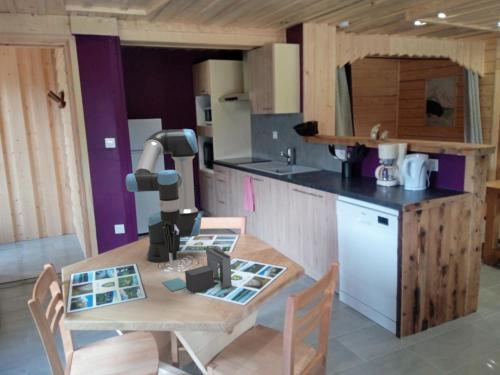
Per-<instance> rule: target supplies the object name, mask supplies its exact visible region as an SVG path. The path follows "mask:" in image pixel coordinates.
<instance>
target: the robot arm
mask: <svg viewBox="0 0 500 375" xmlns="http://www.w3.org/2000/svg"><path fill="white" fill-rule="evenodd" d="M196 136H197V135H196V133H195V131H194V130H193V129H189V128H181V129H161V130H158V131H155V132H154V133H152V134H151V135H149V136H148V137H147V138H146V139H145V141H144V143H143V146H142V154H141V157H140V159H139V161H138V165H137V167H136V169H135V172H134V173H133V172H132V173H128V174H126V176H125V187H126V190H127V191H128V192H132V193H139V192H140V193H142V192H144V193H145V192H158V195H159V196H158V197H159V203H158V205H159V208H160V211H158V212H153V213H152V214H150V215H149V216H148V217H147V227H148V239H149V241H148V242H149V246H148V250H147V254H146V257H147V258H146V259H147V261H149V262H151V263H152V262H153V263H165V262H166V263H167V262H169V268H171V269H175V268H177V267H179V266H178V265H179V264H178V252H180V249H181V248H180V246H181V245H180V243H181V238H192V237H198V236H199V235H200V232H201V224H202V213H201V212H199V209H198V208H197V207H196V205H195V187H194V184H195V183H194V170H193V169H194V167H193V159H194V158H195V157H196V153H198V152H199V149H198V147H199V146H198V140H197V137H196ZM163 154H164V155H165V154H166V155H167V154H170V156H171V159H173V161H174V168H175V169H165V170H164V169H162V170H160V171H158V172H155V170H156V168H157V165H158V162H159V159H160V157H161V156H162V155H163Z"/></svg>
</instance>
